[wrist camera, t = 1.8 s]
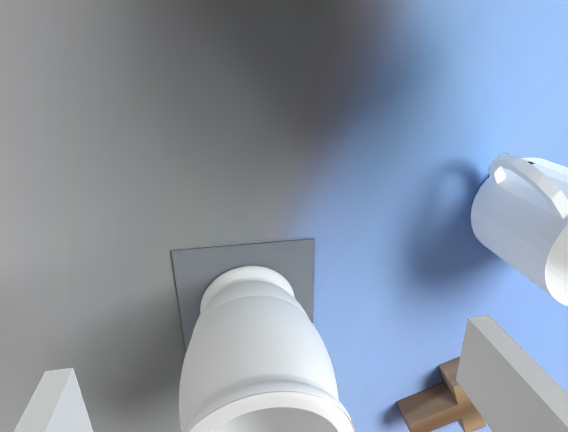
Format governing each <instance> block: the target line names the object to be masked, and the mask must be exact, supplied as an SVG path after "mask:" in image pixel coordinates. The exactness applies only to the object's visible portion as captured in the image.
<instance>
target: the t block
mask: <svg viewBox="0 0 568 432" xmlns="http://www.w3.org/2000/svg"><path fill="white" fill-rule="evenodd" d="M459 362H460V357H458V358H455V359H453V360H450V361H448V362H446V363H443V364H441V365H439V369H440V372H441V376H442V379H443V383H440V384H438V385H436V386H433V387H431V388H428V389H426V390H423V391H421V392H418V393H416V394H413V395H411V396H409V397H406V398H404V399H401V400H399V401H397V404H398V406H399V409H400V412H401V415H402V417H403V419H404V421H405V423H406V425H407V427H408V429H409V431H410V432H430V431H433V430H435V429H438V428H440V427H443V426H445V425H447V424H450V423H452V422H455V421H458V423H459V424H460V426H461V428H462V429H463V431H464V432H473V431H475V430H478V429H480V428H483V427H485V426H486V424H485V420H484V419H483V417H482V416H481V415H480V413H479V412H478V410H477V409H476V407H475V406H474V405H473V403H472V402H471V400H470V399H469V397H468V396H467V395H466V393H465V392H464V390H463V389H462V388H461V386H460V385H459V383H458V382H457V380H456V377H457V372H458V367H459Z"/></svg>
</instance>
